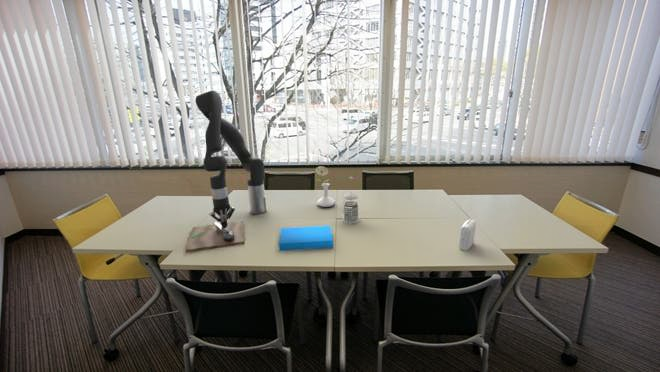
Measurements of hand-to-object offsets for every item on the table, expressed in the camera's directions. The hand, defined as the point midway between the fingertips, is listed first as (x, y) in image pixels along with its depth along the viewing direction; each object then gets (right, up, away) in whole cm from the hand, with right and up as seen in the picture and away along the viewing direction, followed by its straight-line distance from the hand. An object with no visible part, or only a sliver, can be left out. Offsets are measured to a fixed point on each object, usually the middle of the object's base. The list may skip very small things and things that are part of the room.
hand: (224, 227), depth 159 cm
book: (+43, -6, -9) cm, 44 cm away
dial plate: (-2, -4, -3) cm, 6 cm away
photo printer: (+117, -6, -17) cm, 118 cm away
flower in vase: (+51, +9, +36) cm, 63 cm away
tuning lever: (+1, -3, -4) cm, 5 cm away
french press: (+65, +2, +13) cm, 67 cm away
